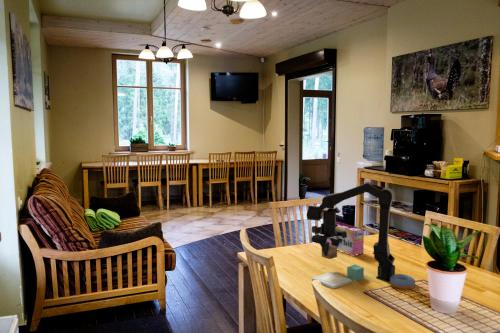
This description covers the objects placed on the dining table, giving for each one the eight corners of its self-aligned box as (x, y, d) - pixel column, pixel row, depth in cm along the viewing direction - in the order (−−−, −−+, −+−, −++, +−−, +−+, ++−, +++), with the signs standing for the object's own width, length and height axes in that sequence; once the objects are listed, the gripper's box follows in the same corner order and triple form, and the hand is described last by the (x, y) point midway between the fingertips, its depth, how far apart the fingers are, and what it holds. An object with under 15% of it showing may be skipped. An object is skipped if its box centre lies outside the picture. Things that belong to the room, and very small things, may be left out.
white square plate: (351, 281, 171) (351, 279, 171) (333, 288, 164) (333, 286, 164) (330, 274, 181) (330, 271, 181) (311, 280, 174) (311, 278, 173)
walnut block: (337, 257, 185) (337, 246, 185) (329, 259, 182) (329, 248, 182) (328, 254, 189) (328, 244, 189) (321, 256, 186) (321, 246, 186)
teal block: (363, 278, 176) (363, 267, 175) (356, 281, 172) (356, 269, 172) (354, 275, 179) (354, 264, 179) (347, 277, 176) (347, 266, 176)
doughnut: (392, 289, 163) (393, 278, 162) (387, 281, 172) (388, 271, 172) (417, 292, 161) (418, 281, 161) (411, 284, 171) (412, 274, 171)
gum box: (322, 245, 227) (322, 222, 226) (333, 243, 231) (333, 220, 230) (353, 256, 207) (353, 230, 206) (364, 254, 211) (364, 228, 210)
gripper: (329, 216, 197) (329, 247, 198) (302, 221, 185) (302, 254, 187) (347, 219, 188) (347, 252, 189) (320, 225, 176) (320, 260, 178)
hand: (329, 254), depth 186 cm, fingers closed on walnut block, 5 cm apart
